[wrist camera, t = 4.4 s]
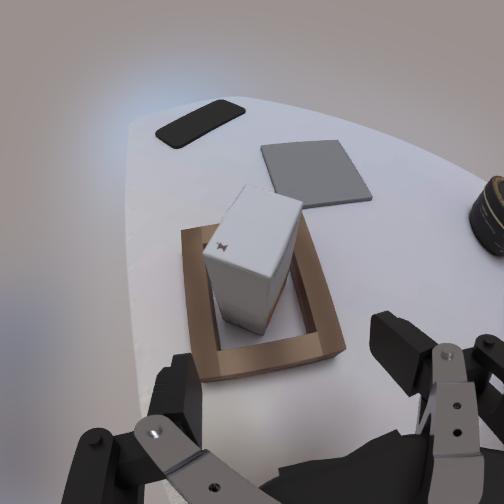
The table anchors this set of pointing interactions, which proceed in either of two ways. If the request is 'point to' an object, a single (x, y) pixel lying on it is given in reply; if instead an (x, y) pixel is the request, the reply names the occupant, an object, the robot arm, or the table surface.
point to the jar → (490, 216)
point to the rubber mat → (314, 173)
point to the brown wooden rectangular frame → (267, 354)
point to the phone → (198, 123)
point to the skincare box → (252, 255)
